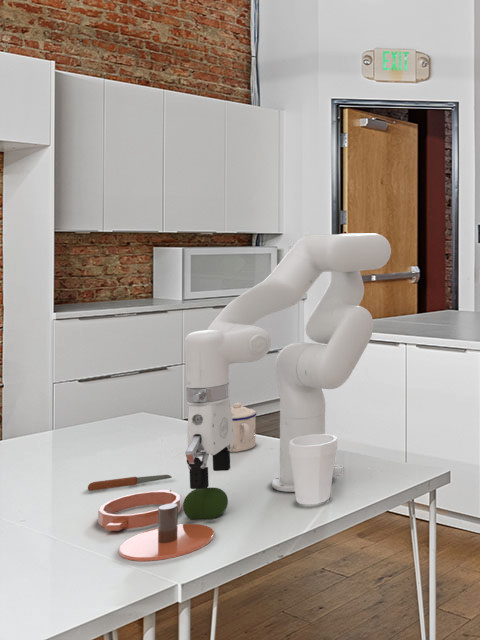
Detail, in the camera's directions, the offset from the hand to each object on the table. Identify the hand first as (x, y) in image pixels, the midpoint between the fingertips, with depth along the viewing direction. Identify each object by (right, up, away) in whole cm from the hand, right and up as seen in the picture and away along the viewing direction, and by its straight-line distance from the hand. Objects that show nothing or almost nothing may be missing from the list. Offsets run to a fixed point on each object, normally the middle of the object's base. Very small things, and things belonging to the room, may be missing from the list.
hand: (210, 478), depth 145 cm
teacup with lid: (-17, -7, +46) cm, 50 cm away
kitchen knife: (-27, -8, +17) cm, 33 cm away
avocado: (-1, -8, -1) cm, 8 cm away
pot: (-14, -8, -1) cm, 15 cm away
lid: (0, -7, -14) cm, 16 cm away
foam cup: (+17, -8, +9) cm, 21 cm away
